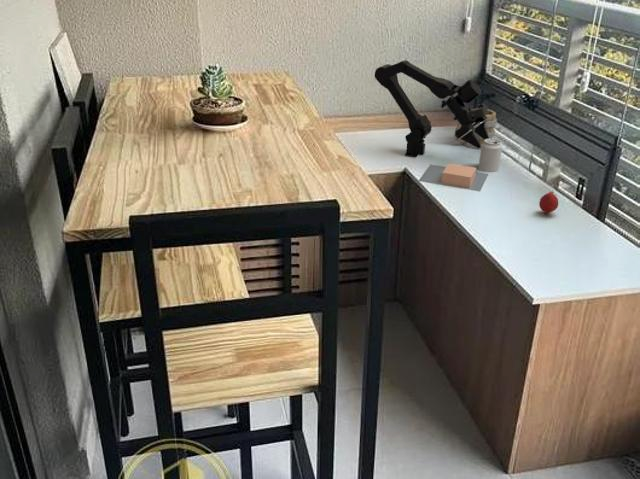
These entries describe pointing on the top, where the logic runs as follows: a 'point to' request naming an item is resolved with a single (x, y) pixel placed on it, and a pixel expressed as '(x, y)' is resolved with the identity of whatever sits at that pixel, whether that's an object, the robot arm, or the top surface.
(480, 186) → the baseplate
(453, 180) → the block
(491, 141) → the can
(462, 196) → the top surface
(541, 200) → the onion
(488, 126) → the tankard
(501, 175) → the top surface
